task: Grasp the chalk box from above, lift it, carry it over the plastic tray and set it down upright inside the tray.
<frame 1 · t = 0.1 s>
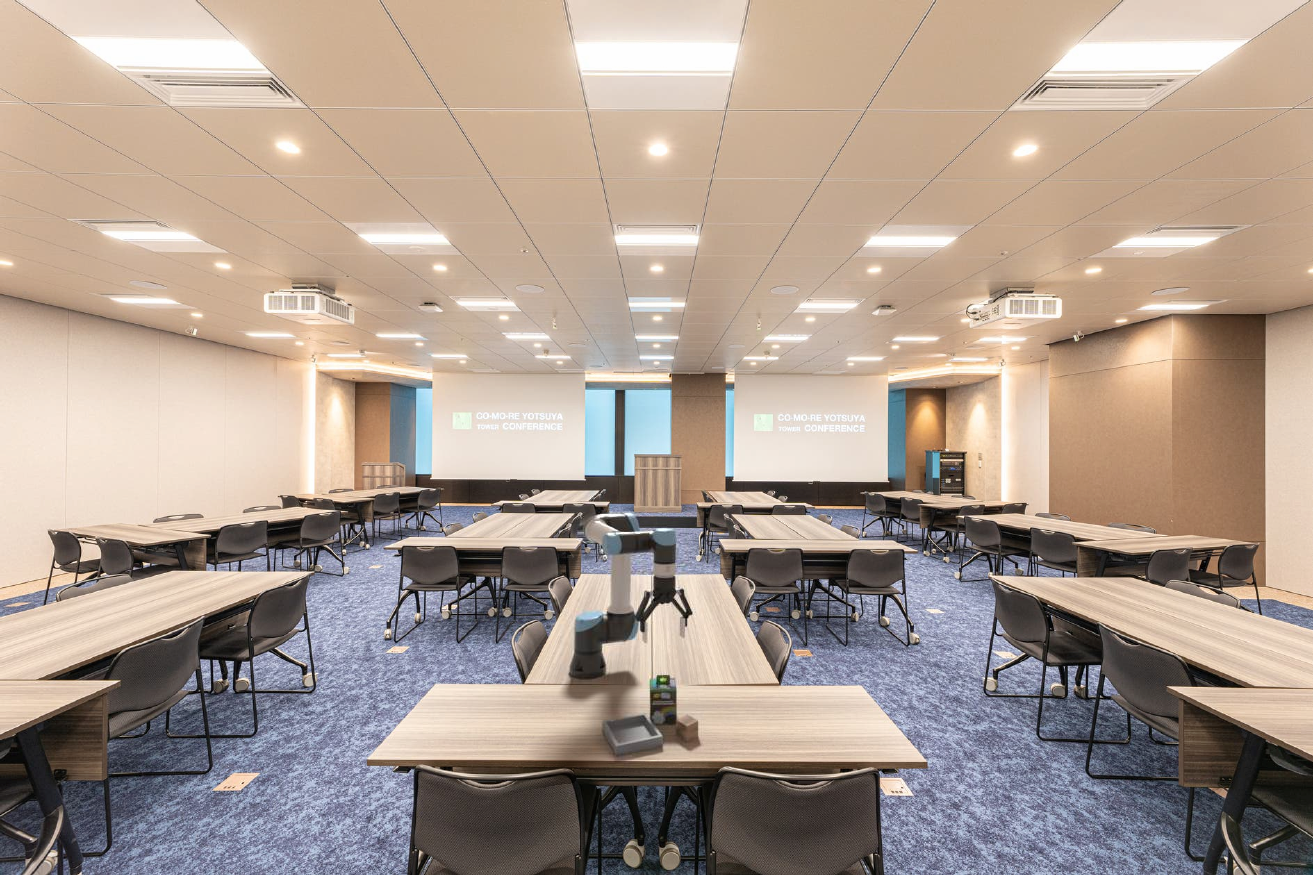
hand: (663, 639, 165), 28 cm above the table, fingers open, 13 cm apart
chalk box: (662, 718, 168), on the table
walnut block: (687, 736, 157), on the table
tray: (631, 737, 156), on the table
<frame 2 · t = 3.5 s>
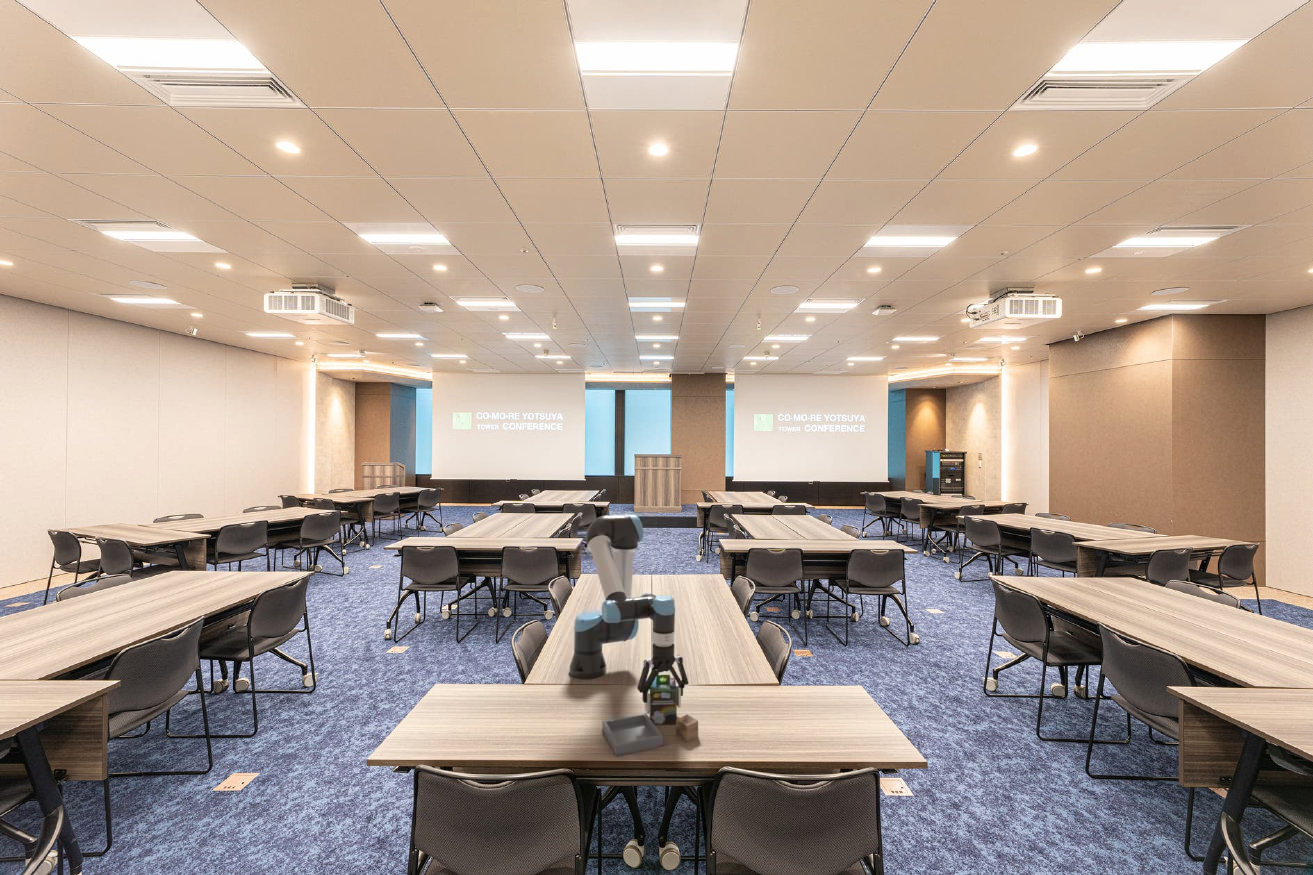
hand: (662, 708, 168), 3 cm above the table, fingers closed on chalk box, 11 cm apart
chalk box: (662, 718, 168), on the table, touching gripper
everything else where it was.
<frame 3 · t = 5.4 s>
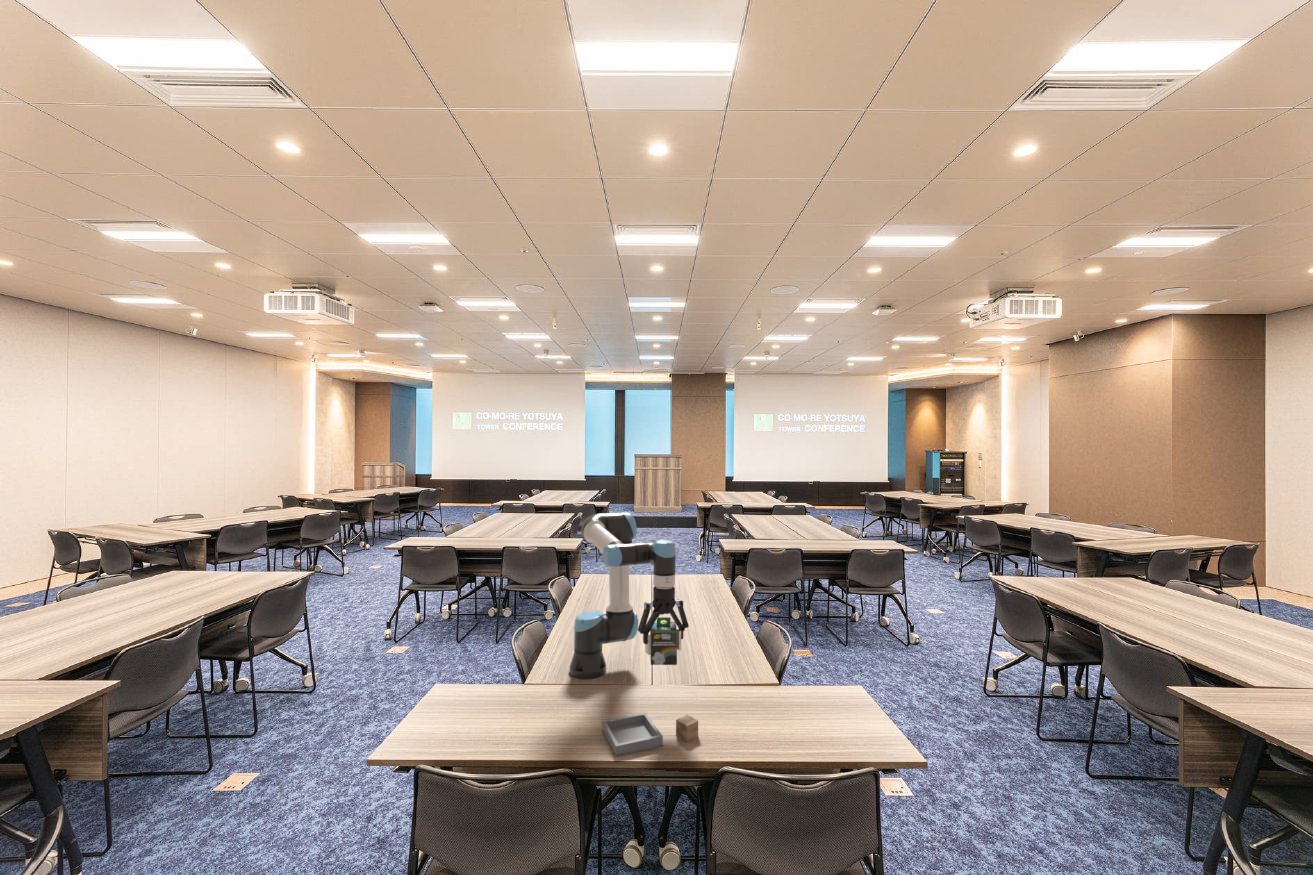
hand: (663, 650, 170), 22 cm above the table, fingers closed on chalk box, 11 cm apart
chalk box: (663, 660, 169), point 19 cm above the table, touching gripper
everything else where it was.
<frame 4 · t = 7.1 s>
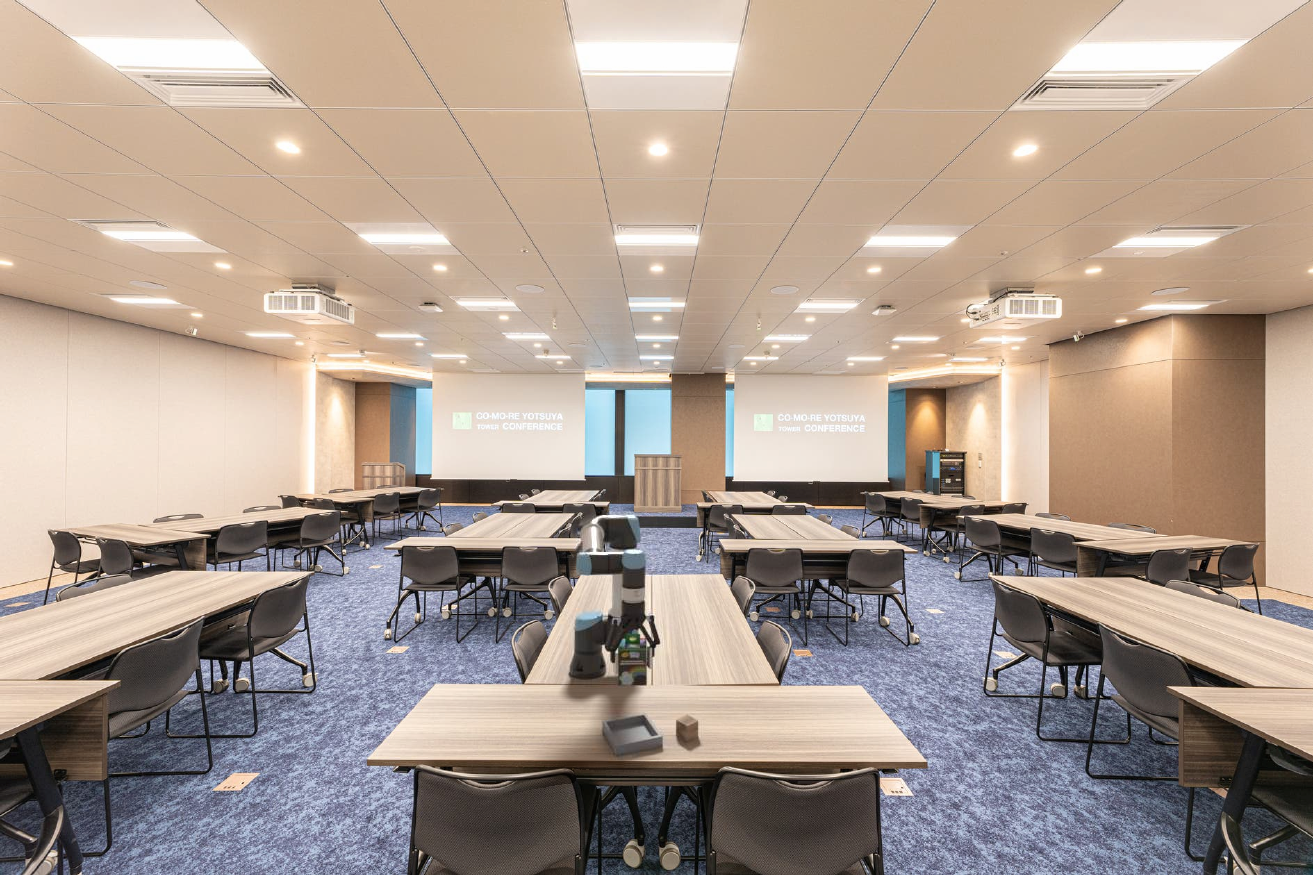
hand: (632, 669, 157), 21 cm above the table, fingers closed on chalk box, 11 cm apart
chalk box: (632, 680, 156), point 18 cm above the table, touching gripper
everything else where it was.
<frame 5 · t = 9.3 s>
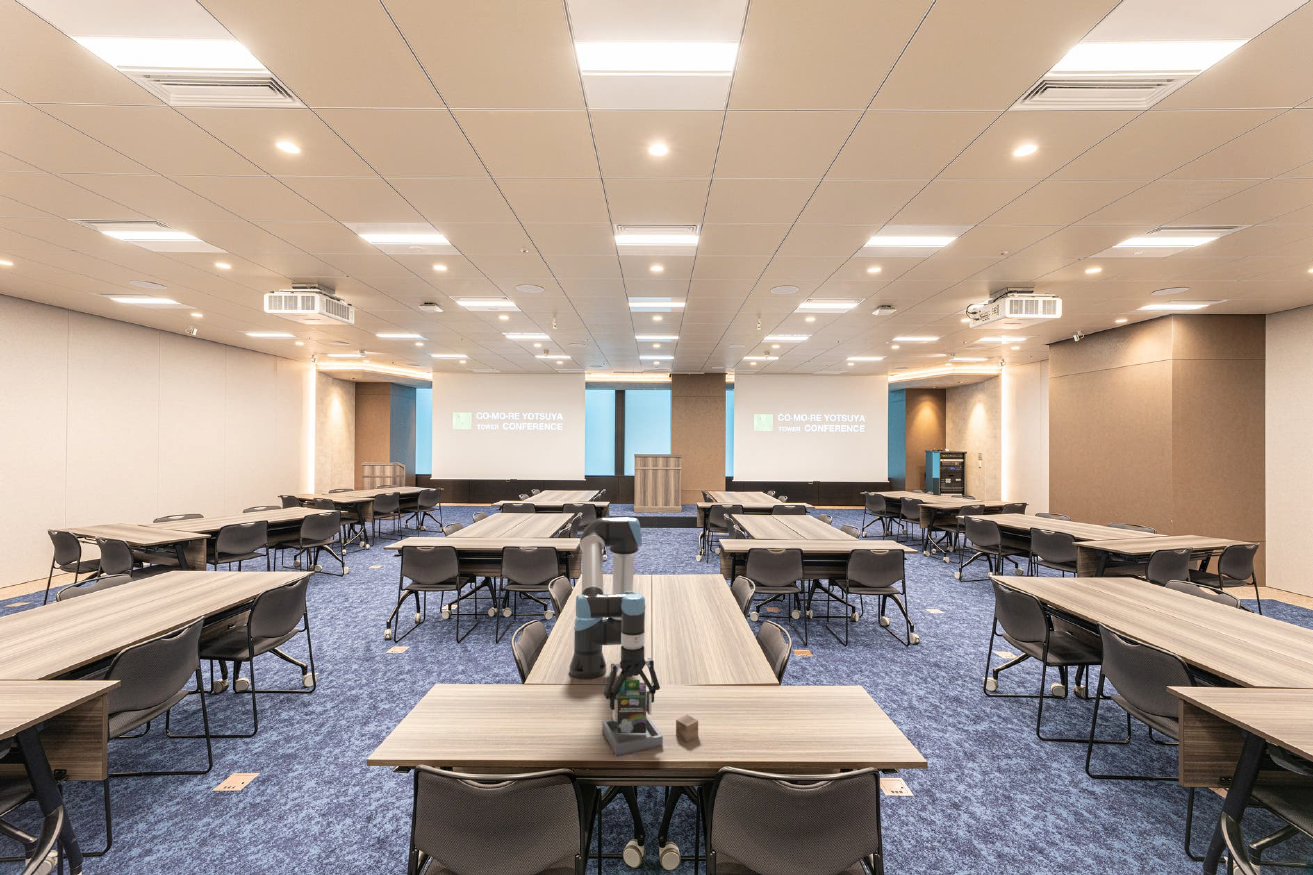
hand: (631, 716, 156), 7 cm above the table, fingers closed on chalk box, 11 cm apart
chalk box: (631, 726, 156), point 4 cm above the table, touching gripper
everything else where it was.
when the fingers open (5 cm above the table, at t = 10.8 s): chalk box drops 1 cm, resting on tray.
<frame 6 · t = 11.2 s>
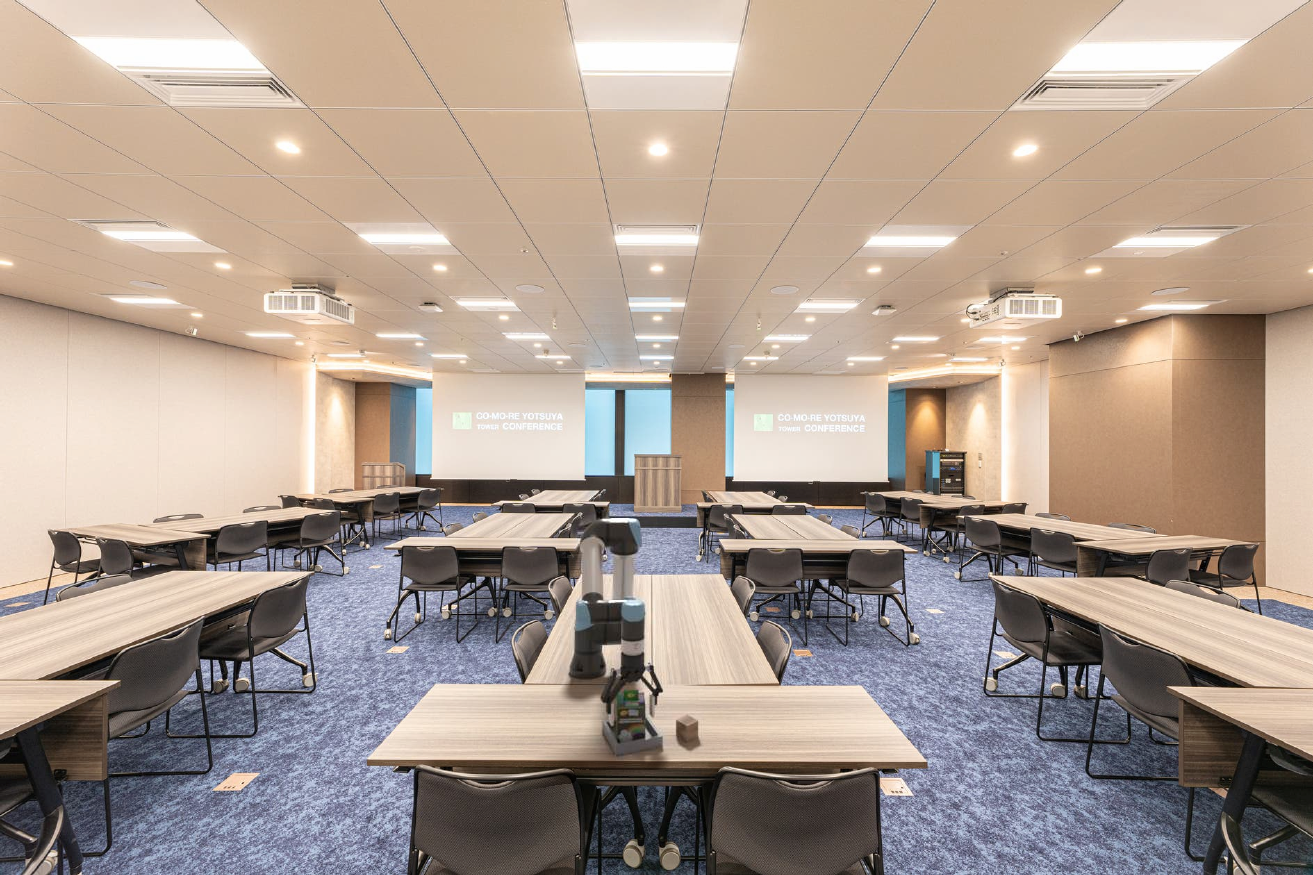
hand: (631, 719, 156), 6 cm above the table, fingers open, 13 cm apart
chalk box: (630, 736, 156), resting on tray
everything else where it was.
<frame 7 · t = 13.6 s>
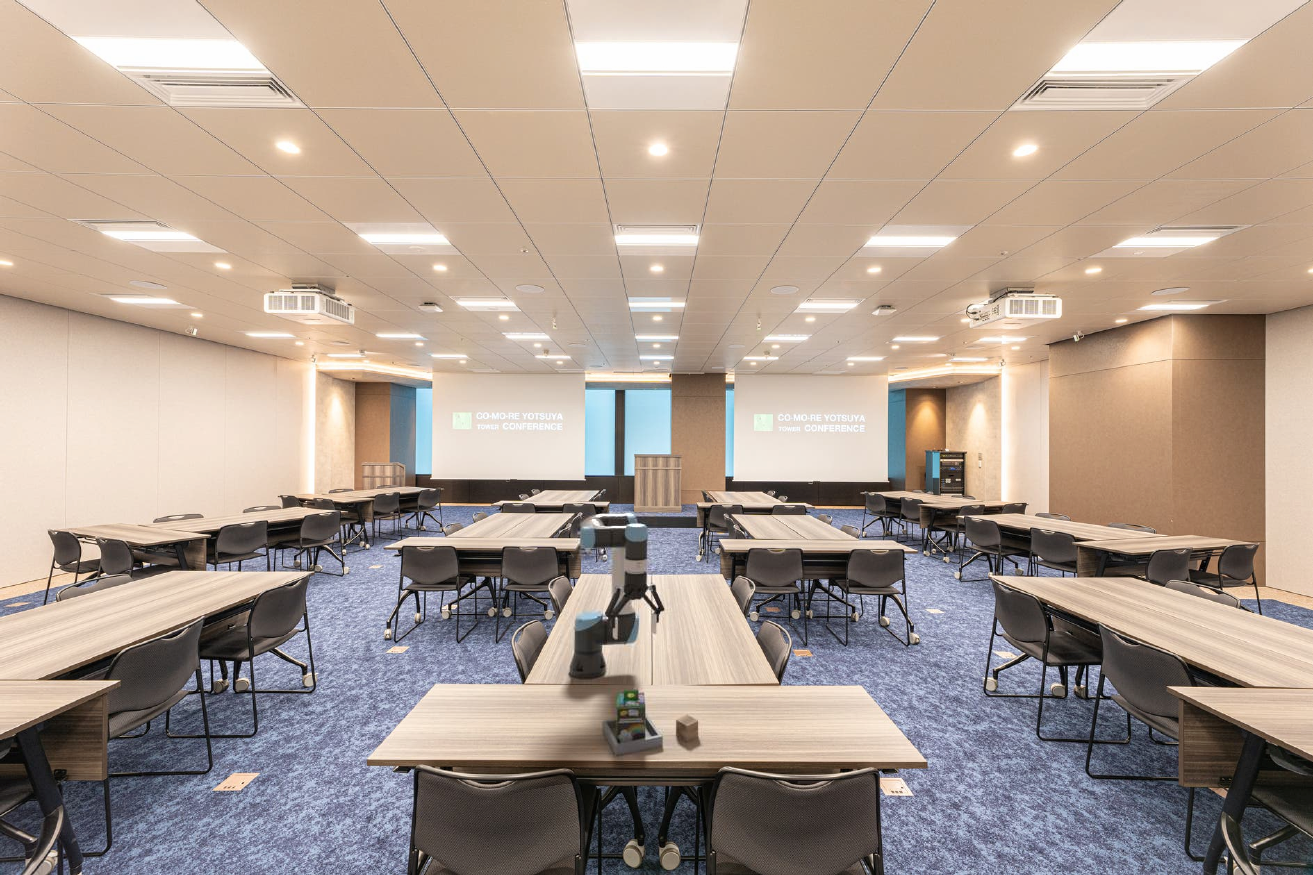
hand: (634, 635, 164), 30 cm above the table, fingers open, 13 cm apart
nothing on the table moved.
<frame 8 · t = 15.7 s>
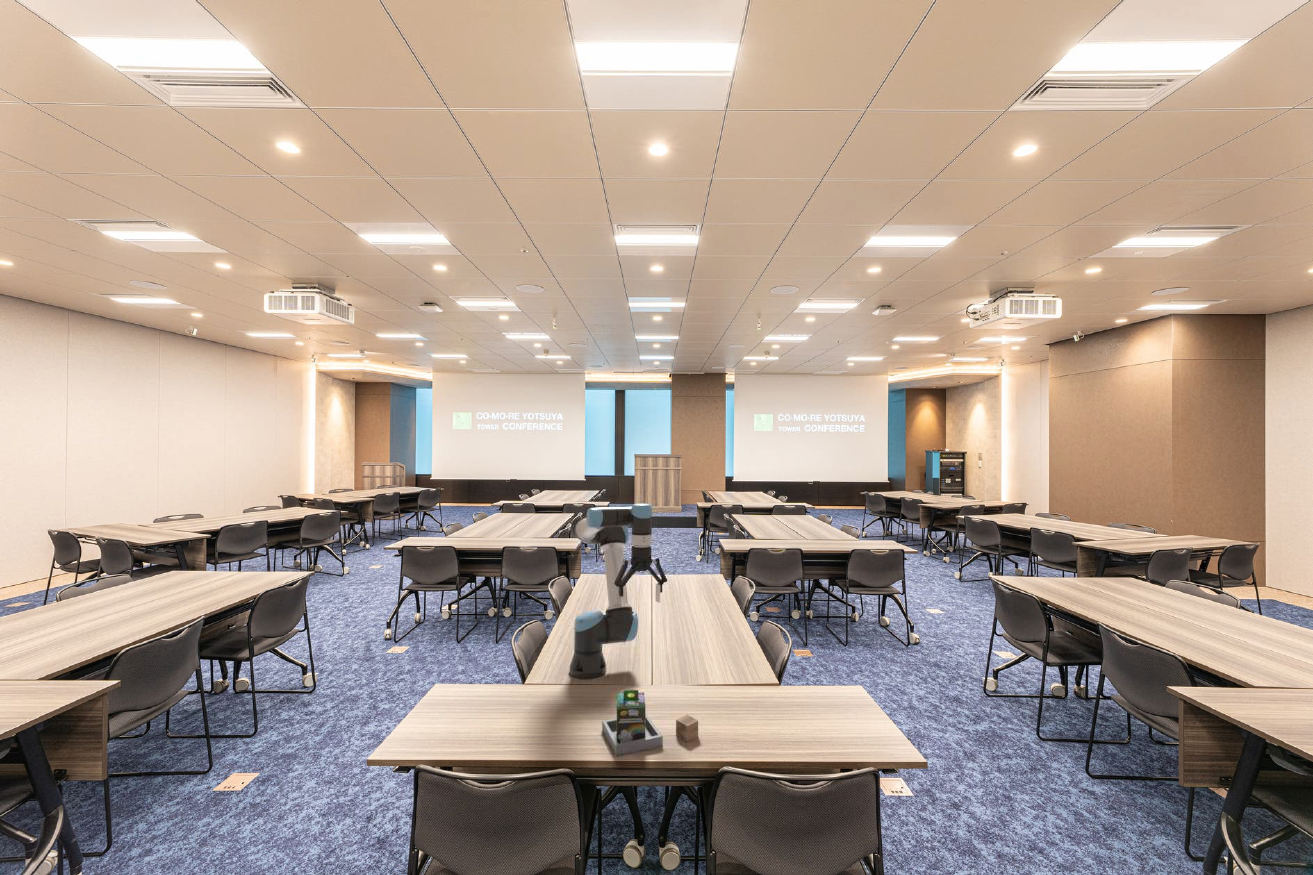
hand: (640, 603, 183), 35 cm above the table, fingers open, 13 cm apart
nothing on the table moved.
at the end: chalk box inside the target area on the tray (0.3 cm from its centre), point 0.4 cm above the tray's base; chalk box tilted 0°; the gripper is holding nothing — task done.
